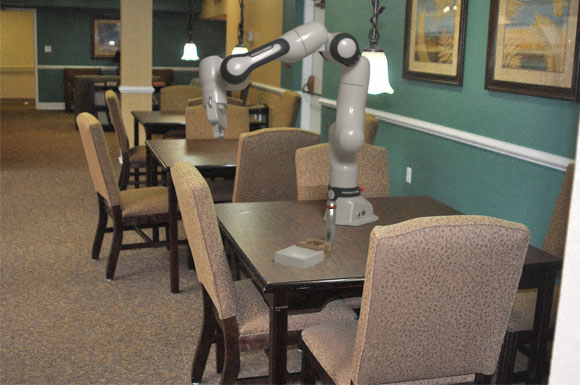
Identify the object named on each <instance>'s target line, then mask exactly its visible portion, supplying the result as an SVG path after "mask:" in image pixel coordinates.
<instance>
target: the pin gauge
mask: <svg viewBox="0 0 580 385" xmlns="http://www.w3.org/2000/svg"><path fill="white" fill-rule="evenodd" d="M336 207H337V202H335V201H328V200H327V201H326V208H327V210H326V208H325V212H326V222H325V232H324V233H325V234H324V240H325V241H329V242H334V246H335V243H336V225H337V224H336Z"/></svg>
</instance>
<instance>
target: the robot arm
mask: <svg viewBox="0 0 580 385" xmlns="http://www.w3.org/2000/svg"><path fill="white" fill-rule="evenodd" d="M359 46H360V45H359V42H358V40H357V39H356V38H355V36H353V35H352V34H351V33H348V32H337V31H336V32H329V31H328V29H327V27H326V26H325V25H324V23H323V22H321V21H319V20H313V21H309V22H306V23H304V24H300V25H299V26H296V27H294V28H292V29H291V30H289V31H287V32H285V33H283V34H282V35H280V36H278V37H277V38H275V39H273V40H271V41H269V42H267V43H265V44H263V45H260V46H258V47H256V48H254V49H251V50H250V51H246V52H244V53H234V54H229V55H227V56H226V57H225V58H222V57H220V56H219V55H213V54H212V55H208V56H205V57H203V58H202V59H201V60H200V61H199V65H198V77H199V78H198V79H199V84H200V87H201V92H200V96H201V103H202V104H201V105H202V108H203V109H205V110H206V120H207V122H208V124H209V125H211V128H212V131H213V132H212V133H213V137H214V138H215V139H217V138H218V141H219V143H223V142H225V131H227V129H228V123H227V122H228V119H227V118H228V116H227V110H228V98H227V97H228V96H227V92H240V91H244V90H245V89H246V88H247V87H248V86H249V84H250V81H251V78H250V76H251V74H252V73H253V71H255V70H256V69H258V68H261V67H263V66H265V65H267V64H269V63H271V62H274V61H275V62H276V61H280V62H281V61H282V62H284V63H286V64H293V63H296V62H298V61H301V60H304V59H305V58H307V57H309V56H311V55H313V54H314V53H317V52H318V53H319V55H320V56H321V57H322V59H324V60H325V61H327V62H329V63H334V64H338V65H339V67H340V76H339V78H340V79H339V84H338V89H337V96H336V103H335V104H336V117H335V121H334V122H333V123H331V125H330V126H329V128H328V132H327V133H328V135H327V136H328V155H329V174H328V175H329V178H328V184H327V192H326V194H327V201H335V202H337V207H336V225H337V226H351V227H352V226H353V227H359V226H362V225H366V224H369V223H373V222H374V223H375V222H377V220H378V221H379V220H380V217H379V216H378V215H376V214H374V208H373V205H372V203H371V202H370V201H369V200H367V199H366V198H365V197H364V196H363V195H362V194H361V192H362V193H365V192H366V190H367V188H366V187H365V186H363V185H360V186H359V185H358V183H359V182H358V181H359V160H358V159H359V158H358V151H359V150H360V149H361V148H362V147H363V146H364V143H365V124H366V105H367V100H368V99H367V98H368V92H369V87H370V79H371V78H370V77H371V63H370V59H368V57H367V56H365V55H364V54H363V55H362V53H361V49H360V47H359ZM326 210H327V208H325V212H324V216H323V219H322V220H323V221H324V222H325V223H326Z"/></svg>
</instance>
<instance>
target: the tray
mask: <svg viewBox="0 0 580 385" xmlns="http://www.w3.org/2000/svg"><path fill="white" fill-rule="evenodd" d="M323 257H324V252H323V251H320V252H319V251H314V250H310V249H306V248H302V247H297V246H296V244H293V245H291V246H287V247H286V248H283V249H280V250H278V251H276V252H274V260H273V261H274V263H276V264H280V265H283V266H288V267H292V268H296V269H299V270H303V271H304V270H306V269H308V268H311V267H313V266H315V265H317V264H320V263H323V262H324V259H323Z"/></svg>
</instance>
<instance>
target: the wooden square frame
mask: <svg viewBox="0 0 580 385" xmlns="http://www.w3.org/2000/svg"><path fill="white" fill-rule="evenodd" d="M295 245H296V246H297V247H302V248H306V249H310V250H314V251H319V252H320V251H323V252H324V257H323V260H325V259H327V258H330V257H331V256H334V254H335V245H334V242H329V241H325V239H319V238H314V237H309V238H307V239H304V240H301V241H299V242H296V243H295Z"/></svg>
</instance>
